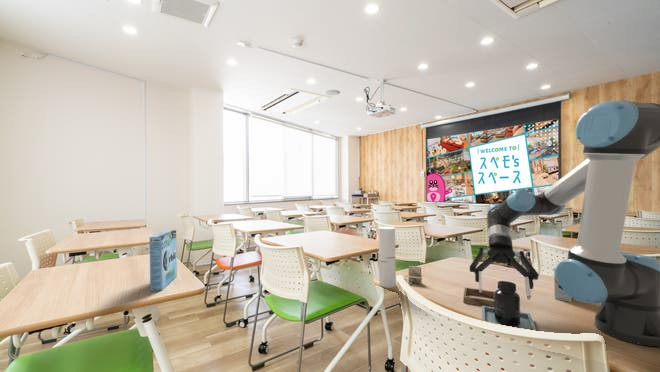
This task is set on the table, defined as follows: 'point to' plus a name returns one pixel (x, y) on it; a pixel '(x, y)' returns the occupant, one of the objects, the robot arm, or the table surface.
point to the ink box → (560, 290)
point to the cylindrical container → (387, 257)
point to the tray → (488, 316)
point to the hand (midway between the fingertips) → (503, 294)
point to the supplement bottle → (507, 304)
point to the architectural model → (414, 274)
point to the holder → (478, 300)
